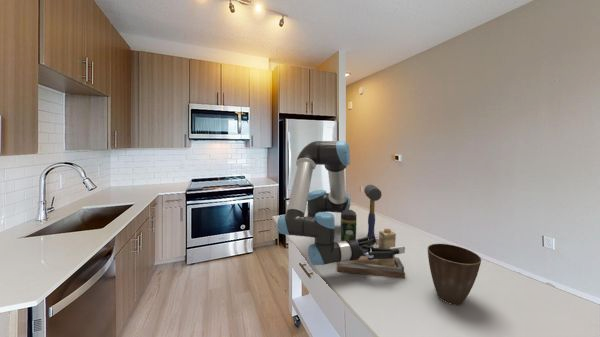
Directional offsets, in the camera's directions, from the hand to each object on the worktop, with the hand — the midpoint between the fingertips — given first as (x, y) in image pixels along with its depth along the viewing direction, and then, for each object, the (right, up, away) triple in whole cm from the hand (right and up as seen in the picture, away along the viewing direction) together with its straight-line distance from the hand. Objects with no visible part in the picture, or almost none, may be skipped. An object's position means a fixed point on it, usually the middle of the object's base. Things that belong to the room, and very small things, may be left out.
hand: (396, 244), depth 95 cm
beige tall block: (-4, -8, 0) cm, 9 cm away
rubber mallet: (-1, -7, +32) cm, 32 cm away
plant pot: (+11, -12, -18) cm, 24 cm away
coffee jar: (-16, -8, +22) cm, 28 cm away
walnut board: (-11, -10, +2) cm, 15 cm away
